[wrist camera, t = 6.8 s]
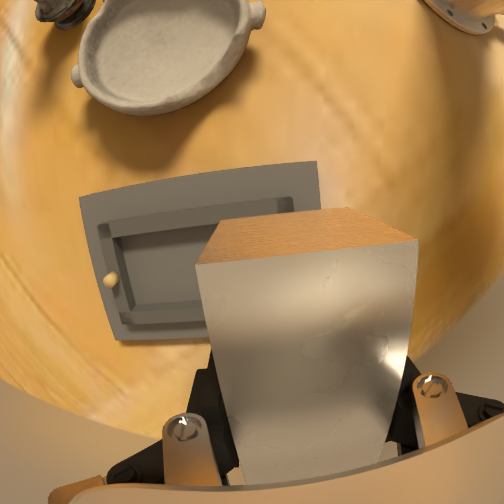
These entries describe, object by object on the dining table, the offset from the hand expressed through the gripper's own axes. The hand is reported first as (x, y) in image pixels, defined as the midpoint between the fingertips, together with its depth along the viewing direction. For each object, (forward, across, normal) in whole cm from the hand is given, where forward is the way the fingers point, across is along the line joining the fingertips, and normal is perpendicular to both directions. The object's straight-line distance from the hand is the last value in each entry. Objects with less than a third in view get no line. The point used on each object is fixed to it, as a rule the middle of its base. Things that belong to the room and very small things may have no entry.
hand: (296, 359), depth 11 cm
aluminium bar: (+1, 0, 0) cm, 1 cm away
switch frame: (+15, +6, -1) cm, 16 cm away
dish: (+15, +6, -20) cm, 26 cm away
